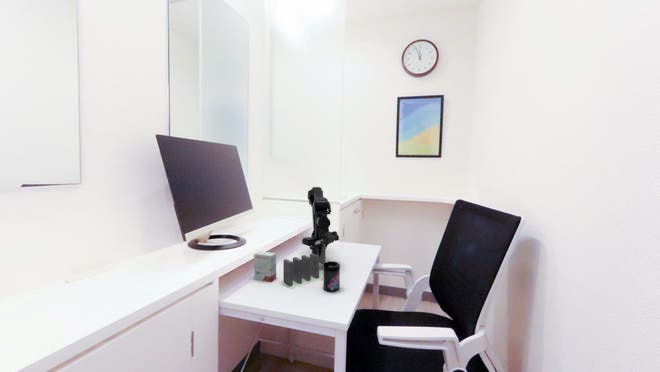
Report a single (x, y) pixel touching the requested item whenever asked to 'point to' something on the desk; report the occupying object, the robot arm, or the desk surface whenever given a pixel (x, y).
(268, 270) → the ink box
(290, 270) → the domino
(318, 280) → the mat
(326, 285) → the supplement container
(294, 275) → the domino
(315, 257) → the domino
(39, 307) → the desk surface
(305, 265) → the domino
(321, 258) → the domino
